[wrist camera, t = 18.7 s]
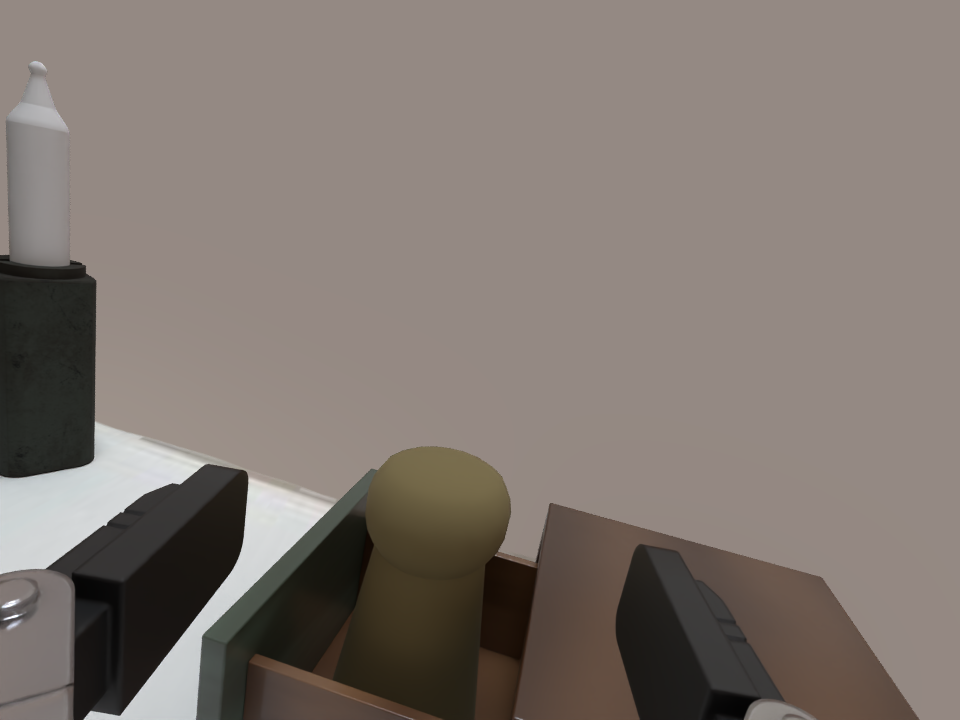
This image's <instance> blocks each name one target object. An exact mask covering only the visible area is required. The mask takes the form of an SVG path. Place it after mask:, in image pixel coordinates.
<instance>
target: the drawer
mask: <svg viewBox="0 0 960 720" xmlns="http://www.w3.org/2000/svg"><path fill="white" fill-rule="evenodd" d="M377 471H378V470H374V469H371V470H370V471H369V472H368V473H367V474H366V475H365V476H364V477H363V478H362V479H361V480H360V481H359V482H357V484H356V485H354V486H353V487H352V488H351V489H350V490H349V491H348V492H347V493H346V494H345V495H344V496H343V497H342V498H341V499H340V500H339V501H338V502H337V503H336V504H335V505H334V506H333V507H332V508H331V509H330V510H329V511H328V512H327V513H326V514H325V515H324V516H323V517H322V518H321V519H320V520H319V521H318V522H317V523H316V524H315V525H314V526H313V527H312V528H311V529H310V530H309V531H308V532H307V533H306V534H305V535H304V536H303V537H302V538H301V539H300V540H299V541H298V542H297V543H296V544H295V545H294V546H293V547H292V548H291V549H290V550H289V551H288V552H287V553H285V554H284V555H283V556H282V557H281V558H280V559H279V560H278V561H277V562H276V563H275V564H274V565H273V566H272V567H271V568H270V569H269V570H268V571H267V572H266V573H265V574H264V575H263V576H262V577H261V578H260V579H259V580H258V581H257V582H256V583H255V584H254V585H253V586H252V587H251V588H250V589H249V590H248V591H247V592H246V593H245V594H244V595H243V596H242V597H241V598H240V599H239V600H238V601H237V602H236V603H235V604H234V605H233V606H232V607H231V608H230V609H229V610H228V611H227V612H226V613H225V614H224V615H223V616H222V617H221V618H220V619H219V620H218V621H217V622H216V623H215V624H214V625H212V626H211V627H210V628H209V629H208V630H207V631H206V632H205V633H204V634H203V636H202V647H201V660H200V674H199V688H198V702H197V716H196V720H444V719H441V718H438V717H435V716H432V715H430V714H427V713H424V712H421V711H418V710H415V709H413V708H410V707H407V706H404V705H401V704H398V703H396V702H393V701H390V700H387V699H384V698H381V697H379V696H376V695H373V694H370V693H367V692H364V691H361V690H359V689H356V688H353V687H350V686H347V685H344V684H342V683H339V682H336V681H333V680H332V679H333V676H334V672H335V669H336V666H337V663H338V660H339V656H340V653H341V650H342V647H343V643H344V640H345V637H346V634H347V631H348V627H349V624H350V621H351V618H352V615H353V611H354V608H355V605H356V602H357V599H358V595H359V592H360V589H361V586H362V582H363V579H364V576H365V573H366V570H367V566H368V563H369V560H370V557H371V554H372V550H373V547H374V543H373V542H372V539H371V537H370V534H369V532H368V530H367V524H366V517H365V511H366V503H367V496H368V489H369V486H370V483H371V481H372V479H373V476H374V474H375V473H376V472H377ZM537 566H538V563H535V562H532V561H528V560H525V559H521V558H518V557H515V556H511V555H508V554H504V553H501V552H497V553H496V554H495V555H494V556H493V557H492V558H491V559H490V560H489V561H488V562H487V563H486V564H485V575H484V589H483V604H482V619H481V634H480V648H479V663H478V678H477V693H476V707H475V720H510V714H511V709H512V703H513V698H514V692H515V687H516V681H517V676H518V670H519V665H520V659H521V654H522V648H523V643H524V637H525V632H526V626H527V621H528V615H529V610H530V604H531V599H532V594H533V588H534V583H535V577H536V572H537Z"/></svg>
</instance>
